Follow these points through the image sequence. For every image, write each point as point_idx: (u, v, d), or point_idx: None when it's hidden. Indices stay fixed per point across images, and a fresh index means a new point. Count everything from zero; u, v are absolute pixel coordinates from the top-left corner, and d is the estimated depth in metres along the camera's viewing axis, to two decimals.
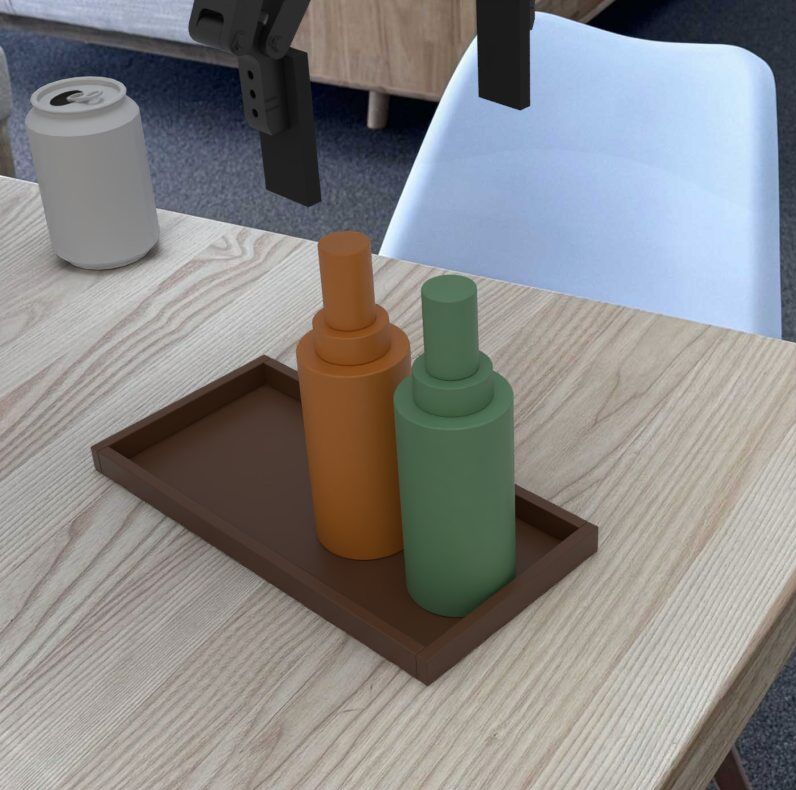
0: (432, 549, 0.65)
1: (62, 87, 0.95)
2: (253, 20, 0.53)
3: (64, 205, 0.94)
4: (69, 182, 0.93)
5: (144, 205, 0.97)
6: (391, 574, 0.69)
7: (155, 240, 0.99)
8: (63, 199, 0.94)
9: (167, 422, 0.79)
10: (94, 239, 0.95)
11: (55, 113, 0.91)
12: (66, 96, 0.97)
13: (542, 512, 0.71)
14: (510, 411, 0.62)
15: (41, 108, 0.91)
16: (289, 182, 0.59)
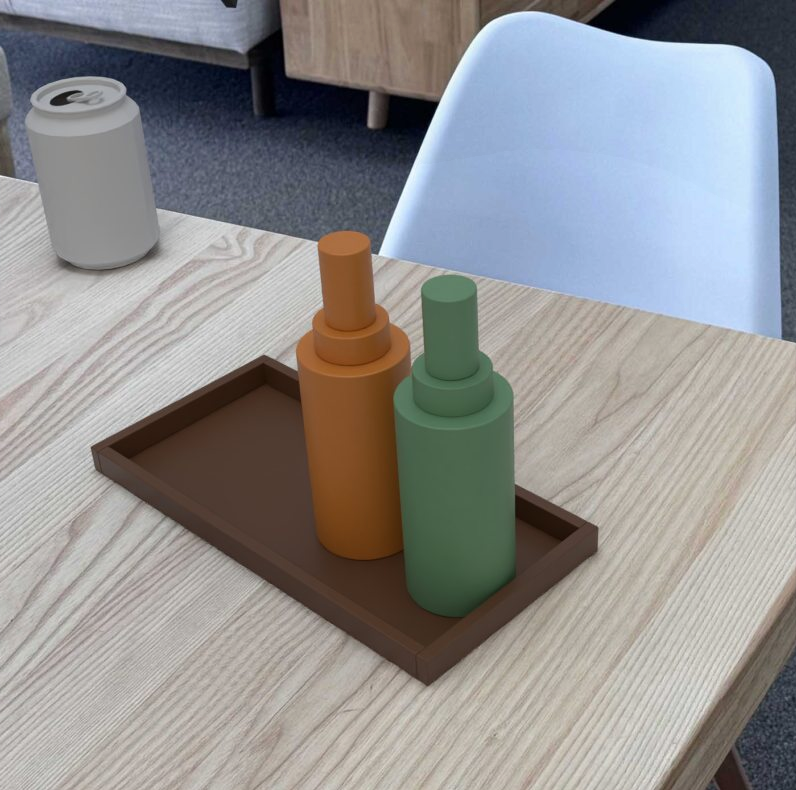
0: (432, 549, 0.65)
1: (62, 87, 0.95)
2: None
3: (64, 205, 0.94)
4: (69, 182, 0.93)
5: (144, 205, 0.97)
6: (391, 574, 0.69)
7: (155, 240, 0.99)
8: (63, 199, 0.94)
9: (167, 422, 0.79)
10: (94, 239, 0.95)
11: (55, 113, 0.91)
12: (66, 96, 0.97)
13: (542, 512, 0.71)
14: (510, 411, 0.62)
15: (41, 108, 0.91)
16: None
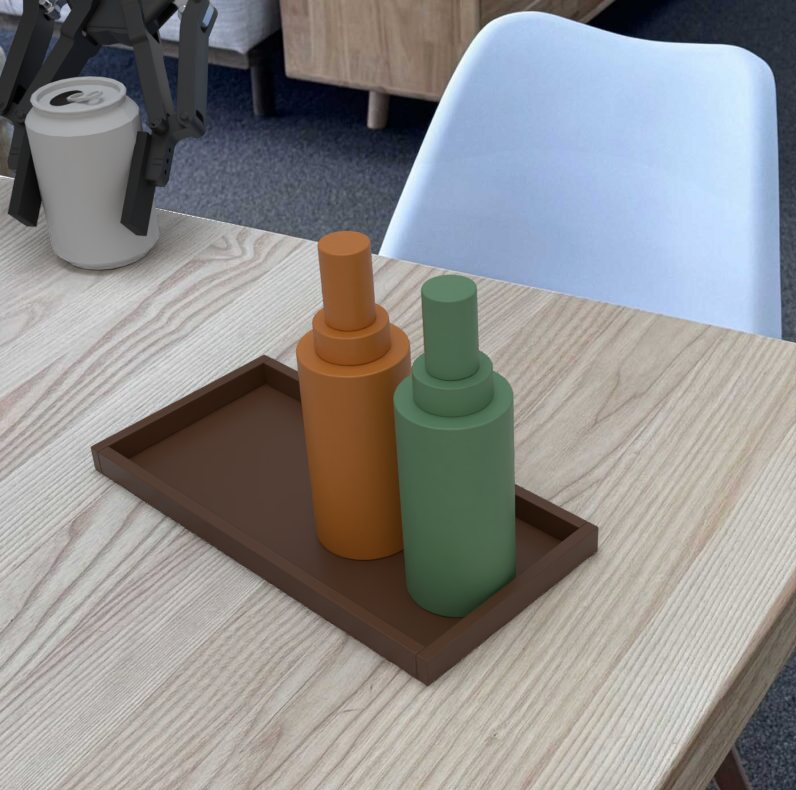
0: (432, 549, 0.65)
1: (62, 87, 0.95)
2: (7, 93, 0.97)
3: (64, 205, 0.94)
4: (69, 182, 0.93)
5: None
6: (391, 574, 0.69)
7: (155, 240, 0.99)
8: (63, 199, 0.94)
9: (167, 422, 0.79)
10: (94, 239, 0.95)
11: (55, 113, 0.91)
12: (66, 96, 0.97)
13: (542, 512, 0.71)
14: (510, 411, 0.62)
15: (41, 108, 0.91)
16: None
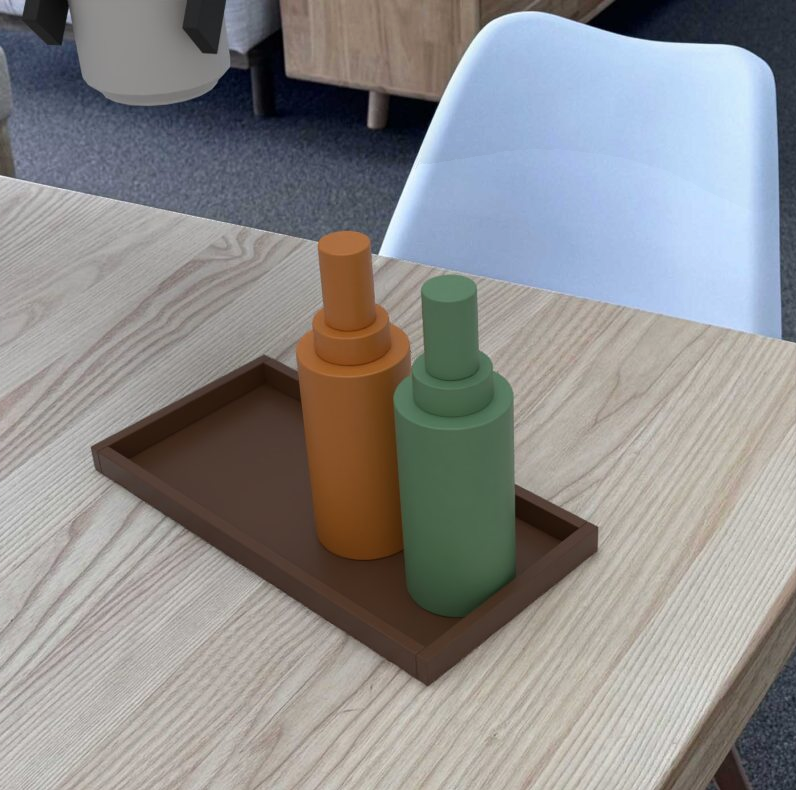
0: (432, 549, 0.65)
1: None
2: None
3: (103, 6, 0.67)
4: None
5: None
6: (391, 574, 0.69)
7: (225, 67, 0.71)
8: None
9: (167, 422, 0.79)
10: (144, 58, 0.68)
11: None
12: None
13: (542, 512, 0.71)
14: (510, 411, 0.62)
15: None
16: None
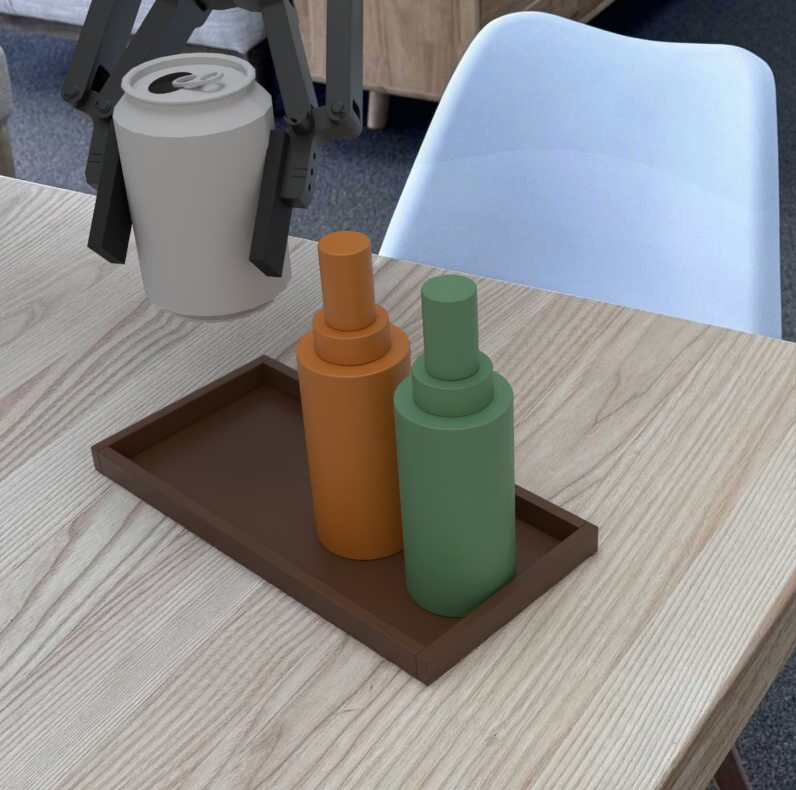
0: (432, 549, 0.65)
1: (162, 68, 0.68)
2: (84, 77, 0.69)
3: (168, 234, 0.66)
4: (176, 202, 0.65)
5: None
6: (391, 574, 0.69)
7: (287, 281, 0.71)
8: (167, 227, 0.66)
9: (167, 422, 0.79)
10: (209, 282, 0.68)
11: (159, 104, 0.64)
12: (166, 81, 0.69)
13: (542, 512, 0.71)
14: (510, 411, 0.62)
15: (139, 97, 0.64)
16: None
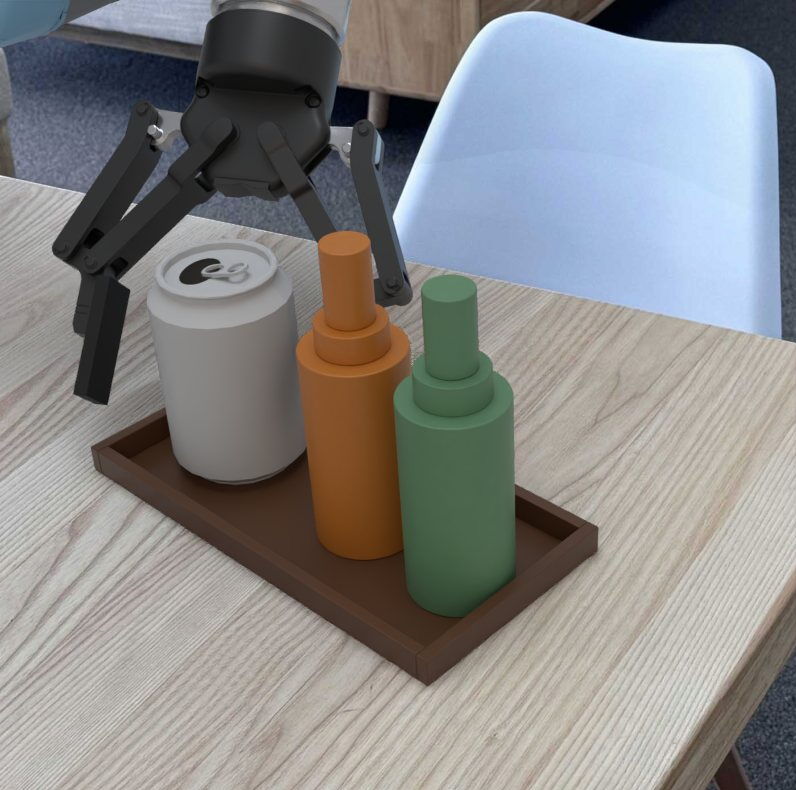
0: (432, 549, 0.65)
1: (192, 254, 0.73)
2: (76, 237, 0.75)
3: (198, 410, 0.72)
4: (205, 384, 0.71)
5: (296, 403, 0.75)
6: (391, 574, 0.69)
7: None
8: (196, 404, 0.72)
9: (167, 422, 0.79)
10: (234, 451, 0.73)
11: (190, 298, 0.69)
12: (194, 262, 0.75)
13: (542, 512, 0.71)
14: (510, 411, 0.62)
15: (172, 291, 0.69)
16: None
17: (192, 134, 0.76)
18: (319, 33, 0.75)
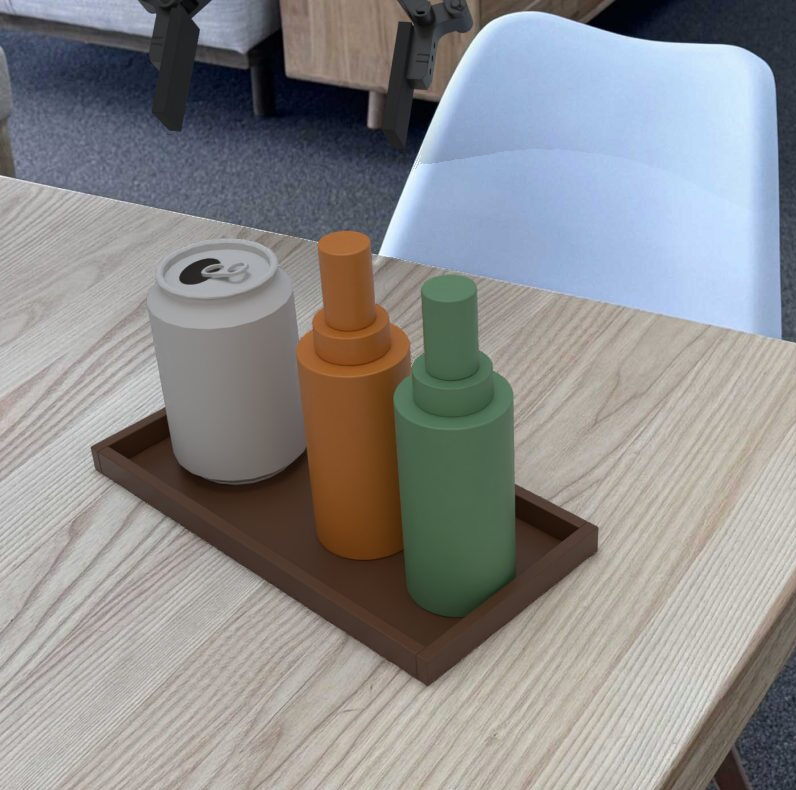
0: (432, 549, 0.65)
1: (192, 254, 0.73)
2: None
3: (198, 410, 0.72)
4: (205, 384, 0.71)
5: (296, 403, 0.75)
6: (391, 574, 0.69)
7: None
8: (196, 404, 0.72)
9: (167, 422, 0.79)
10: (234, 451, 0.73)
11: (190, 298, 0.69)
12: (194, 262, 0.75)
13: (542, 512, 0.71)
14: (510, 411, 0.62)
15: (172, 291, 0.69)
16: None
17: None
18: None
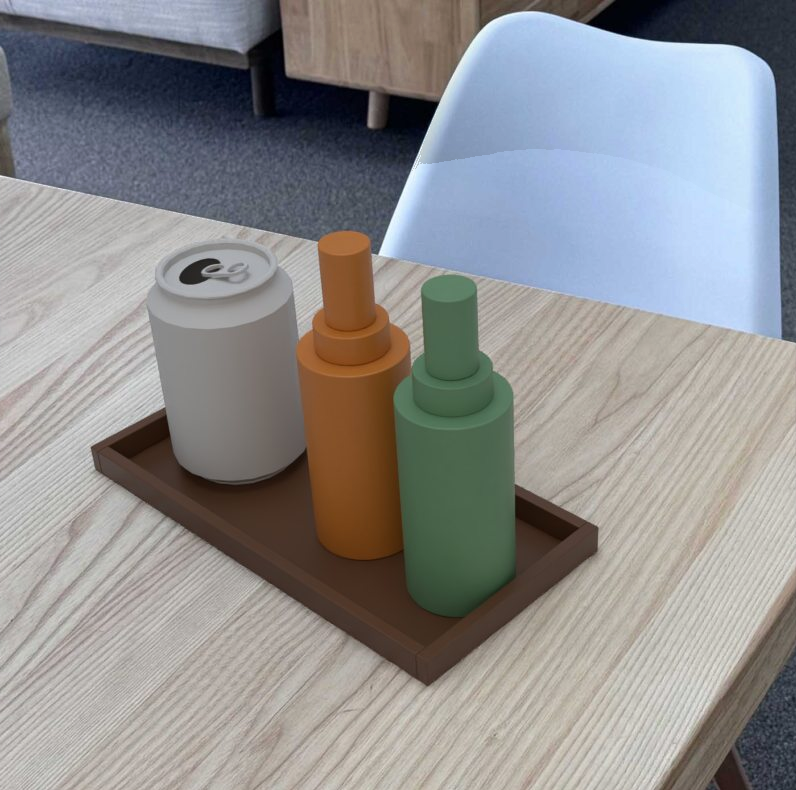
0: (432, 549, 0.65)
1: (192, 254, 0.73)
2: None
3: (198, 410, 0.72)
4: (205, 384, 0.71)
5: (296, 403, 0.75)
6: (391, 574, 0.69)
7: None
8: (196, 404, 0.72)
9: (167, 422, 0.79)
10: (234, 451, 0.73)
11: (190, 298, 0.69)
12: (194, 262, 0.75)
13: (542, 512, 0.71)
14: (510, 411, 0.62)
15: (172, 291, 0.69)
16: None
17: None
18: None
